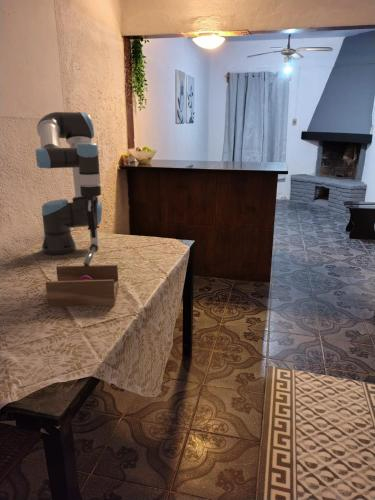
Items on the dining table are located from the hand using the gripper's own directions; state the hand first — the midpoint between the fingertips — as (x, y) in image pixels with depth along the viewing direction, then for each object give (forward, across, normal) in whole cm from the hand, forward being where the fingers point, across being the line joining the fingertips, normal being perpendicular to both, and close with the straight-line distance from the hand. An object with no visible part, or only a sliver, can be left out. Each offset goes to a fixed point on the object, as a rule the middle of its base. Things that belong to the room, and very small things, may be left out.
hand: (94, 244), depth 151 cm
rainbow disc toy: (+11, +26, 0) cm, 28 cm away
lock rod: (+2, +11, 0) cm, 11 cm away
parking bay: (+11, +26, 0) cm, 28 cm away
